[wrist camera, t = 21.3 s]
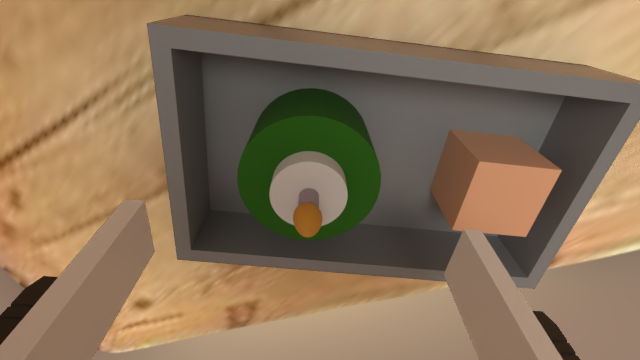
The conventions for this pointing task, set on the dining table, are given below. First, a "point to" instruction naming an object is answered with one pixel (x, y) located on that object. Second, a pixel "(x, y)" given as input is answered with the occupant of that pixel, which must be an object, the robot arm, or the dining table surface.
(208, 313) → the dining table surface
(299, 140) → the candle
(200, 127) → the tote
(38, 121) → the dining table surface
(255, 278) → the dining table surface
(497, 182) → the cube
